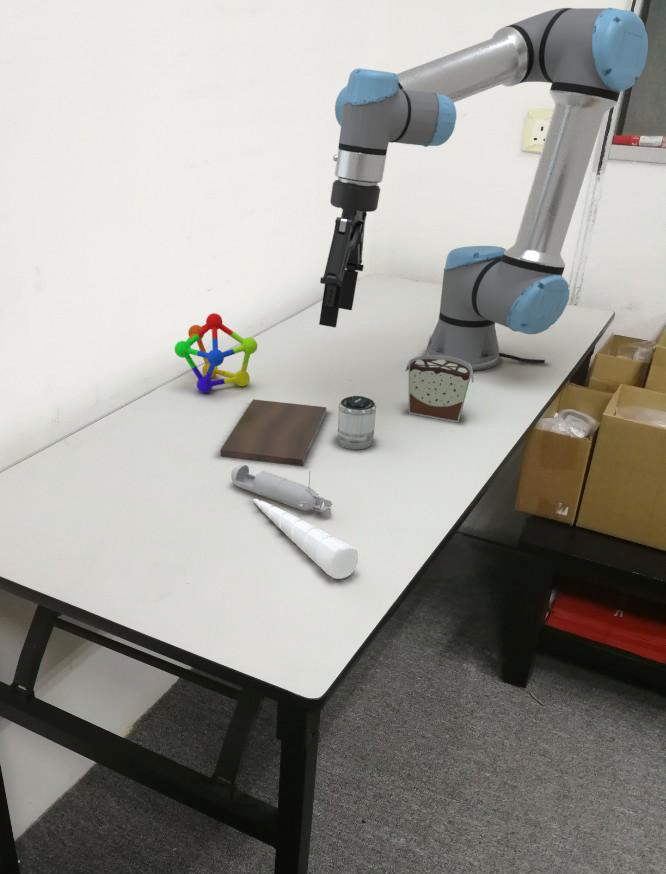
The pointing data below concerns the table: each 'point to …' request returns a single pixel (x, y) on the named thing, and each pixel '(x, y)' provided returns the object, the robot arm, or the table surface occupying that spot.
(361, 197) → the robot arm
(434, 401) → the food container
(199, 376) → the educational toy
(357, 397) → the camera lens
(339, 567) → the unicorn horn
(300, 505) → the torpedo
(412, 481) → the table surface
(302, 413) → the walnut board
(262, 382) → the table surface
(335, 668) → the table surface
